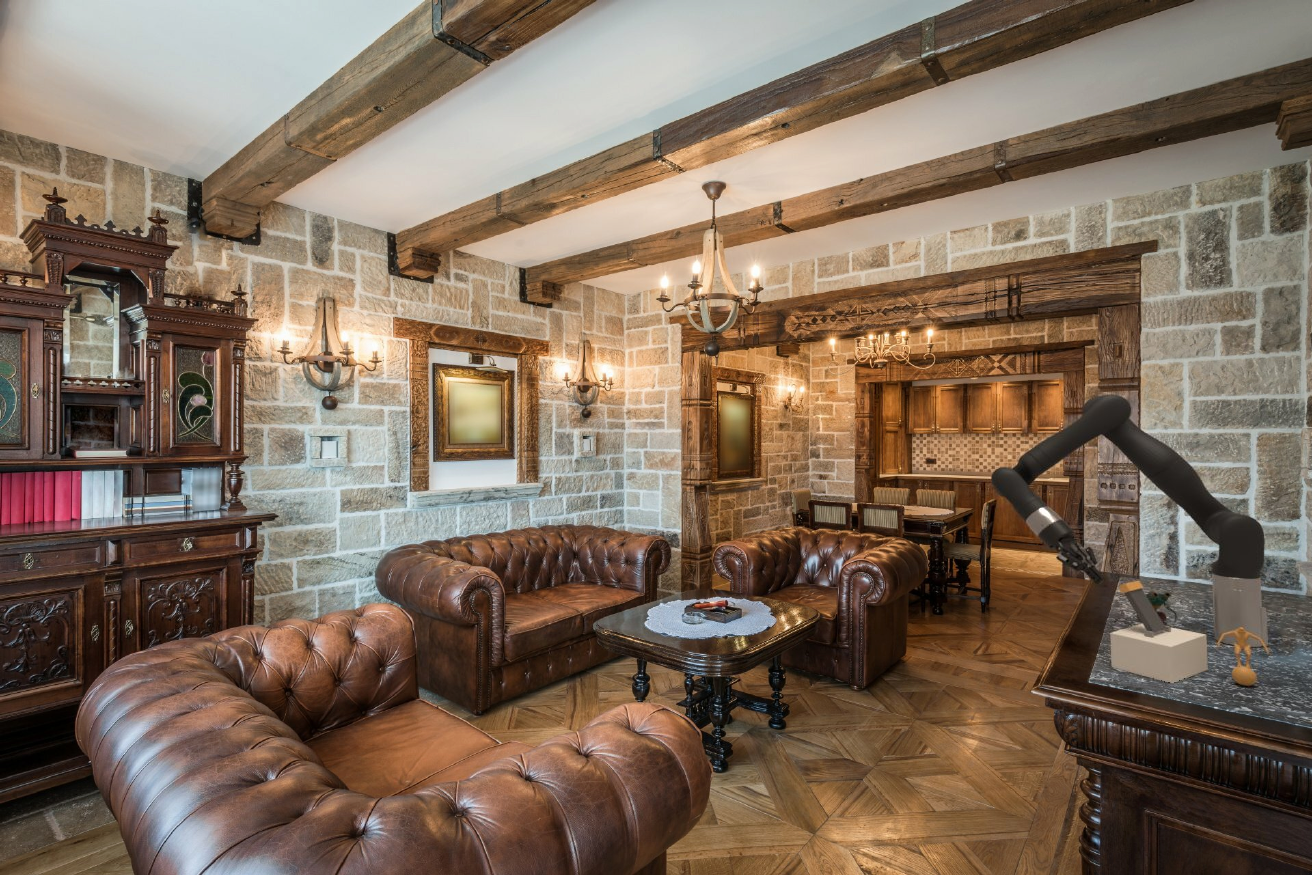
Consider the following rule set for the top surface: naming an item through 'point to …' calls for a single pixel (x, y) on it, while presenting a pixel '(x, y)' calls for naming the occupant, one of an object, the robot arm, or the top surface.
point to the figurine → (1245, 673)
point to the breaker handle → (1142, 606)
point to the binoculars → (1159, 604)
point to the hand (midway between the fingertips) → (1101, 581)
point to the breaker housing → (1159, 652)
